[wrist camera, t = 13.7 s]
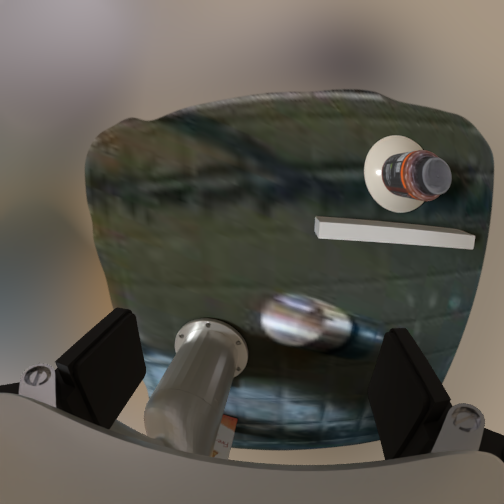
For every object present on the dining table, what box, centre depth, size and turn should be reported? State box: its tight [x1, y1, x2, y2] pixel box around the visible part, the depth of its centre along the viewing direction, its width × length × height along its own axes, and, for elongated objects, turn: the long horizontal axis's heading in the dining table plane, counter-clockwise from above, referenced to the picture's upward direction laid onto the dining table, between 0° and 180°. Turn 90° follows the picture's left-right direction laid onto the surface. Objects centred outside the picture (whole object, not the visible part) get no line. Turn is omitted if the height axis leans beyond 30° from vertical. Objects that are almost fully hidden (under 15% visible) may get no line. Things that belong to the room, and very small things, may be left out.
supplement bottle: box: [381, 150, 452, 201], centre depth 29 cm, size 6×6×11 cm
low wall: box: [314, 216, 475, 249], centre depth 34 cm, size 2×24×5 cm, turn 89°
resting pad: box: [364, 136, 424, 213], centre depth 34 cm, size 11×11×1 cm
